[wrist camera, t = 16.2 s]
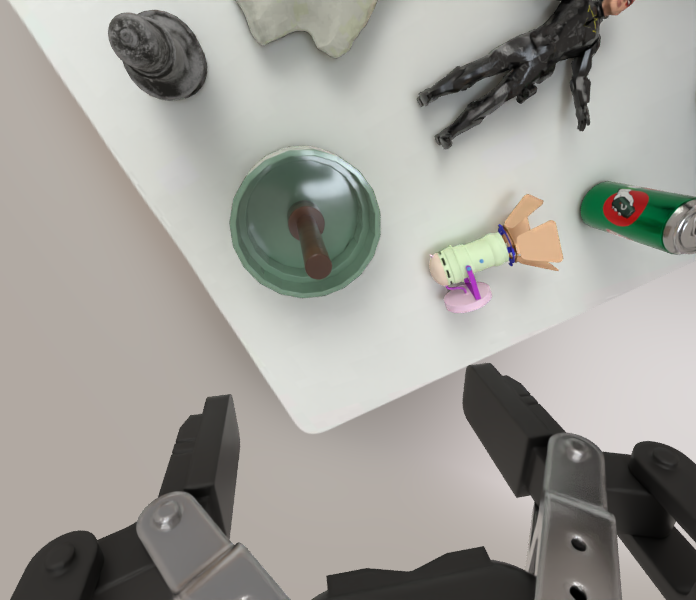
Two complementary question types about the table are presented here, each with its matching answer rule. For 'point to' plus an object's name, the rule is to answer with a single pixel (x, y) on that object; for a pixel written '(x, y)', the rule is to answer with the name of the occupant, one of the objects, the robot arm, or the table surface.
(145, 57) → the chess piece
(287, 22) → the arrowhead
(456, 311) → the spotlight
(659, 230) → the soda can
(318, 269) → the muddler
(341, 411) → the table surface
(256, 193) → the bowl
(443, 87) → the action figure
